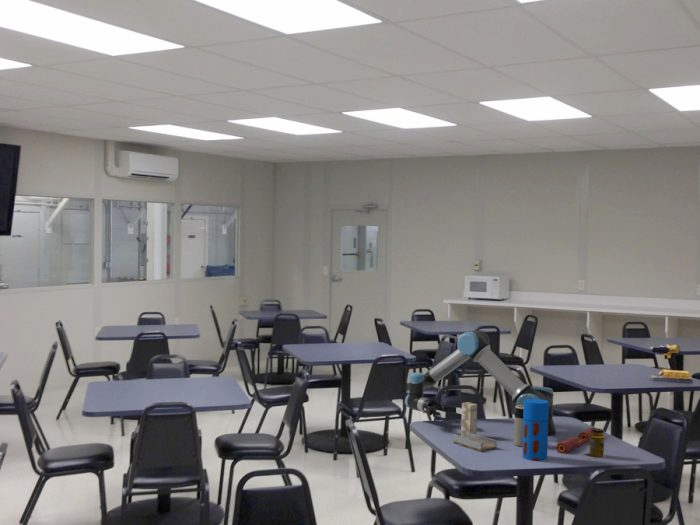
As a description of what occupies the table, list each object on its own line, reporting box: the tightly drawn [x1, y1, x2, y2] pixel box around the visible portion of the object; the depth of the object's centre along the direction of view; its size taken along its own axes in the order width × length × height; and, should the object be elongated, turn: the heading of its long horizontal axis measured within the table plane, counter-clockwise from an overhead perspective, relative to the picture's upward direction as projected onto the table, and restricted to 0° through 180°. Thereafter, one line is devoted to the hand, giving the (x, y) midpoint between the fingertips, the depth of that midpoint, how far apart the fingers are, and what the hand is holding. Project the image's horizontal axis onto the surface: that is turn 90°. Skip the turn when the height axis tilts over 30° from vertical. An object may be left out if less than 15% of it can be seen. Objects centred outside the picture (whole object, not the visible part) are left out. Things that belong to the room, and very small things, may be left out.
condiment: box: [581, 427, 608, 459], centre depth 346 cm, size 7×8×12 cm
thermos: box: [522, 399, 549, 462], centre depth 340 cm, size 11×11×25 cm
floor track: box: [453, 432, 498, 453], centre depth 358 cm, size 18×10×4 cm, turn 34°
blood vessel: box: [556, 427, 596, 454], centre depth 366 cm, size 42×5×5 cm, turn 143°
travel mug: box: [513, 405, 524, 447], centre depth 363 cm, size 8×8×18 cm
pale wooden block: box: [460, 401, 478, 438], centre depth 377 cm, size 6×4×16 cm
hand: (455, 413), depth 385 cm, fingers open, 13 cm apart
